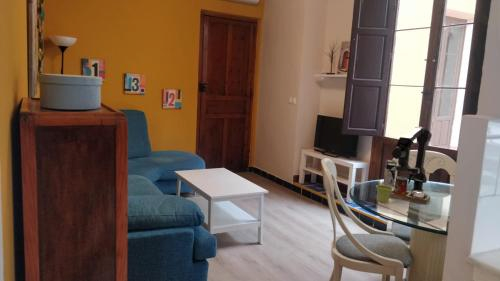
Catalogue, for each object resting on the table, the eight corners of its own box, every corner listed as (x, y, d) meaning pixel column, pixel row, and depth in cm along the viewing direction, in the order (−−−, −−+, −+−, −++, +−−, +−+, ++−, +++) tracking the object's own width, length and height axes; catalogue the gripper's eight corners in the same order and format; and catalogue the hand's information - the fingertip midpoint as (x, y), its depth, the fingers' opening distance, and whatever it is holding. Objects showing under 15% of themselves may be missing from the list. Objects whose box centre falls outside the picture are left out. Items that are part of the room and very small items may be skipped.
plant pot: (390, 200, 239) (392, 186, 238) (392, 204, 230) (393, 189, 229) (374, 198, 242) (375, 184, 240) (374, 202, 233) (376, 187, 231)
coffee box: (383, 181, 286) (385, 159, 284) (392, 182, 285) (395, 160, 282) (384, 184, 277) (387, 161, 275) (394, 185, 276) (397, 162, 273)
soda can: (391, 195, 250) (393, 176, 248) (399, 194, 253) (401, 175, 251) (400, 198, 244) (402, 178, 242) (408, 197, 247) (410, 178, 245)
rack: (392, 192, 256) (393, 188, 256) (429, 199, 244) (430, 195, 244) (387, 196, 247) (387, 192, 247) (425, 204, 235) (426, 199, 234)
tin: (413, 197, 247) (414, 190, 246) (424, 200, 244) (425, 192, 243) (410, 200, 242) (411, 192, 241) (422, 202, 238) (423, 194, 238)
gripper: (384, 156, 243) (382, 181, 246) (417, 161, 233) (414, 187, 235) (389, 154, 253) (387, 178, 255) (421, 159, 242) (418, 184, 245)
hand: (401, 182), depth 247 cm, fingers open, 8 cm apart
